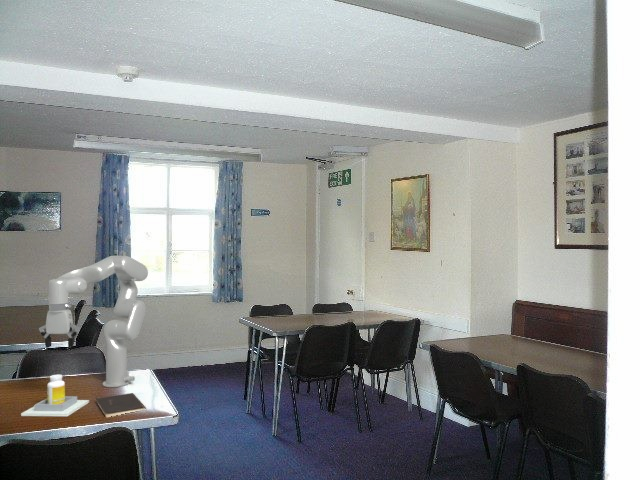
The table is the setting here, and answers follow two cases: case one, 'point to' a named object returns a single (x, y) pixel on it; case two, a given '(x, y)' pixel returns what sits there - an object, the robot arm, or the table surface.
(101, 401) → the hardcover book
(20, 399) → the table surface
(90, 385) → the table surface
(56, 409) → the holder board
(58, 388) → the supplement bottle
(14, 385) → the table surface
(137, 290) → the robot arm
